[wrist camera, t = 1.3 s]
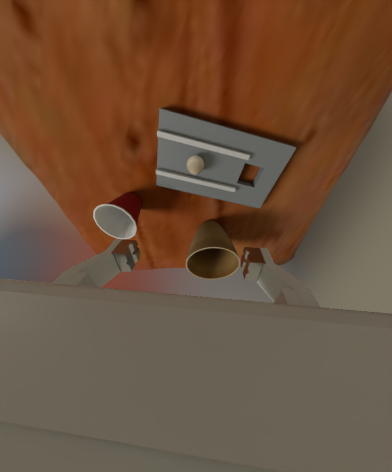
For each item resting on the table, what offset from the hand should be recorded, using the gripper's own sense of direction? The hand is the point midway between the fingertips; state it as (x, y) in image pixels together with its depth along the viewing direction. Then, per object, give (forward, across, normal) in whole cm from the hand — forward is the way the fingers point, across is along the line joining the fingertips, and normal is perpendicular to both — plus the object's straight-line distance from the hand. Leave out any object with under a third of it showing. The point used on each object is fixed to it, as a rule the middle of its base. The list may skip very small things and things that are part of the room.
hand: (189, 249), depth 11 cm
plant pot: (+36, -2, +21) cm, 42 cm away
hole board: (+33, -3, 0) cm, 33 cm away
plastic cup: (+33, +23, +10) cm, 42 cm away
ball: (+28, +2, -1) cm, 28 cm away
